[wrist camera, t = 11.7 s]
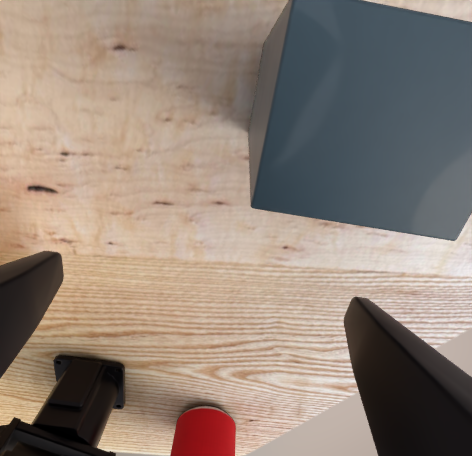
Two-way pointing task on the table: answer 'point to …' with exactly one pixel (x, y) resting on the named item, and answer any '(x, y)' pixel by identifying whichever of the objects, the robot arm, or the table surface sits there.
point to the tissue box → (365, 118)
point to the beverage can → (204, 433)
